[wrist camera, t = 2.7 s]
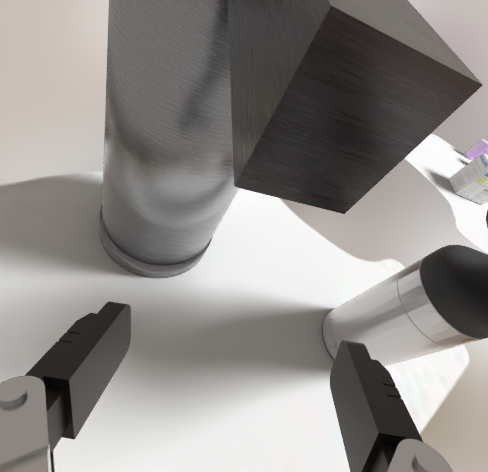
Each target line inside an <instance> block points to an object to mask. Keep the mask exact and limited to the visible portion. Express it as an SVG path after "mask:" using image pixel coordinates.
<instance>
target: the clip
mask: <svg viewBox="0 0 488 472" xmlns="http://www.w3.org/2000/svg"><path fill="white" fill-rule="evenodd" d="M482 153H485V154H486V155H488V141H487V142H486V141H485V140H484V139H481V140H480V141H479V142H477V143H476V144H475V145H474V146H472V147H471V148H470V149H469V150H467V151H466V152H465V153H463V154H464V155H465V156H466V157H467V158H468V159H469V160H471V159H475V158H477V157H478V156H479V155H480V154H482Z"/></svg>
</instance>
